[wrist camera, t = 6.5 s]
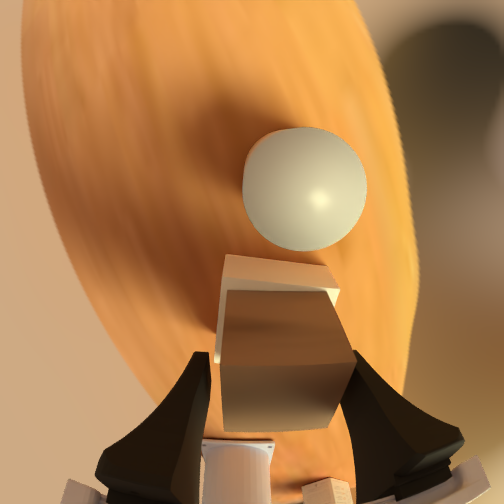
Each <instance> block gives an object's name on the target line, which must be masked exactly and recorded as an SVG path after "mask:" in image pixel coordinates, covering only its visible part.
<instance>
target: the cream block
mask: <svg viewBox="0 0 504 504" xmlns="http://www.w3.org/2000/svg"><path fill="white" fill-rule="evenodd" d="M227 290H252V291H327V293H328V295H329V298H330V300H331V302H332V304H333V306H335V303H336V300H337V297H338V294H339V291H340V288H339V286H338V284H337V283H336V281H335V279H334V277H333V275H332V273H331V272H330V270H329V268H328V266H322V265H313V264H305V263H297V262H289V261H280V260H272V259H264V258H256V257H248V256H240V255H232V254H226V255H225V262H224V268H223V274H222V282H221V292H220V302H219V312H218V322H217V333H216V344H215V355H214V363H220V357H221V347H222V336H223V326H224V316H225V306H226V296H227Z"/></svg>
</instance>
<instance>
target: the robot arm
mask: <svg viewBox="0 0 504 504" xmlns="http://www.w3.org/2000/svg"><path fill="white" fill-rule="evenodd" d="M353 352H354V355H355V357H356V360H357V363H356V366H355V368H354V371H353V373H352V375H351V378H350V380H349V382H348V385H347V387H346V389H345V392H344V394H343V396H342V398H341V400H340V404H341V407H342V411H343V414H344V417H345V420H346V423H347V427H348V430H349V433H350V438H351V443H352V449H353V456H354V464H355V475H356V504H468V503H470V502H471V501H473V500H474V499H476V498H477V497H479V496H480V495H482V494H483V493H485V492H486V491H488V490H489V489H490V488H491V486H490V484H489V481H488V479H487V477H486V474H485V472H484V469H483V467H482V465H481V462H480V460H479V458H478V456H477V455H475V456H473V457H471V458H470V459H468V460H466V461H464V462H462V463H461V464H459V465H458V466H457V467H455V468H454V469H453V470H452V471H450V469H449V467H448V465H450V464H451V461H450V459H449V458H450V457H451V456H452V455H453V454H454V453H455V452H457V451H458V450H459V449H460V448H461V447H462V446H463V444H464V442H465V440H464V438H463V436H462V434H461V432H460V430H459V428H458V427H455V426H452V425H450V424H447V423H445V422H443V421H440V420H438V419H436V418H434V417H432V416H430V415H429V414H427V413H425V412H423V411H422V410H420V409H419V408H417V407H415V406H414V405H412V404H411V403H410V402H409V401H407V400H406V399H405V398H403V397H402V396H401V395H400V394H398V393H397V392H396V391H395V390H394V389H393V388H392V387H391V386H390V385H388V384H387V383H386V382H385V381H384V380H383V379H382V378H381V377H380V376H379V374H378V373H377V372H376V371H375V370H374V369H373V368H372V367H371V366H370V365H369V364H368V363H367V362H366V360H365V359H364V358H363V357H362V356H361V355H360V354H359V353H358V352H357V350H353ZM210 392H211V372H210V362H209V352H196V351H195V352H194V353H193V355H192V357H191V359H190V361H189V363H188V365H187V366H186V368H185V370H184V372H183V373H182V375H181V376H180V378H179V379H178V381H177V382H176V384H175V385H174V387H173V388H172V390H171V391H170V392H169V394H168V395H167V396H166V397H165V399H164V400H163V401H162V402H161V404H160V405H159V406H158V407H157V408H156V409H155V410H154V411H153V412H152V413H151V414H150V415H149V416H148V418H146V419H145V420H144V421H143V422H142V423H141V424H140V425H139V426H138V427H136V428H135V429H134V430H133V431H131V432H130V433H129V434H127V435H126V436H125V437H124V438H122V439H121V440H119V441H118V442H116V443H114V444H113V445H112V446H110V447H108V448H106V449H105V450H104V451H103V453H102V455H101V457H100V459H99V462H98V465H97V468H96V471H95V477H96V478H97V479H98V480H99V481H100V482H101V483H103V484H104V485H105V486H106V487H108V488H109V490H108V494H107V496H106V495H103V494H101V493H100V492H99V491H97V490H96V489H93V488H91V487H89V486H87V485H84V484H81V483H79V482H76V481H74V480H71V479H68V482H67V484H66V488H65V491H64V494H63V497H62V501H61V504H199V483H200V481H199V480H200V462H201V450H202V454H203V457H204V461H205V473H204V485H203V497H202V504H271V488H270V471H269V466H270V462H271V459H272V455H273V451H274V447H275V442H274V441H231V440H212V439H203V433H204V428H205V422H206V417H207V412H208V407H209V401H210Z"/></svg>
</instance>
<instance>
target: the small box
mask: <svg viewBox="0 0 504 504" xmlns="http://www.w3.org/2000/svg"><path fill="white" fill-rule="evenodd" d="M302 494H303V502H304V504H353V501H352V497H351V492H350V488H349V483H348V482H346V481H342V480H338V479H334V478H331V477H329V478H326V479H323V480H321V481H318V482H314V483H311V484H308V485H305V486H302Z"/></svg>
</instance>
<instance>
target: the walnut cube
mask: <svg viewBox="0 0 504 504" xmlns="http://www.w3.org/2000/svg"><path fill="white" fill-rule="evenodd" d="M356 363H357V360H356V357H355V355H354V352H353V350H352V348H351V345H350V343H349V341H348V338H347V336H346V334H345V331H344V329H343V327H342V324H341V322H340V320H339V318H338V315H337V313H336V311H335V309H334V306H333V304H332V302H331V300H330V298H329V295H328V293H327V291H252V290H227V296H226V306H225V316H224V326H223V336H222V347H221V357H220V378H221V396H222V411H223V425H224V432H283V431H299V430H311V429H321V428H327V427H328V425H329V423H330V421H331V419H332V417H333V415H334V413H335V411H336V409H337V407H338V405H339V403H340V400H341V398H342V396H343V394H344V392H345V389H346V387H347V385H348V382H349V380H350V378H351V375H352V373H353V371H354V368H355V366H356Z"/></svg>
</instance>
